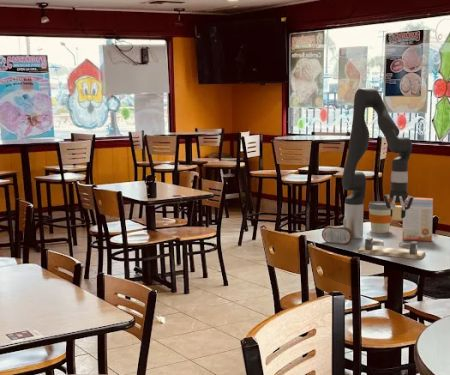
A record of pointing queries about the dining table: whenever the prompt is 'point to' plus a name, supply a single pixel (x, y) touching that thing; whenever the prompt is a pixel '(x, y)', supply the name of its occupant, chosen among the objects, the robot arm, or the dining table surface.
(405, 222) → the cracker box
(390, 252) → the shaft rig
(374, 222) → the reusable coffee cup
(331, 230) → the tin
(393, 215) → the coupler
